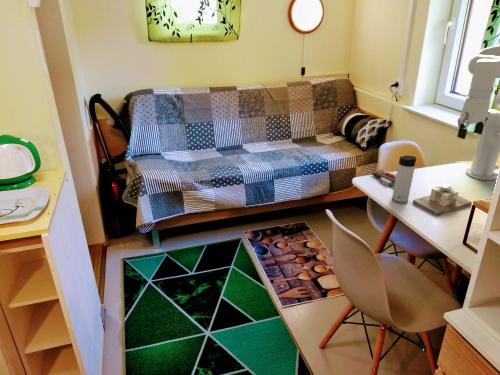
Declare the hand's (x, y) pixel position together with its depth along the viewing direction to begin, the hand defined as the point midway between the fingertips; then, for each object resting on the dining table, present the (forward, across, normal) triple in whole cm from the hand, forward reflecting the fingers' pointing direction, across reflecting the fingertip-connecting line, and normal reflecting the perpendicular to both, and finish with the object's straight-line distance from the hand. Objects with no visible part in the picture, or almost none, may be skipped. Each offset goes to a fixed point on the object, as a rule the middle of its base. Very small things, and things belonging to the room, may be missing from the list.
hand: (469, 135), depth 154 cm
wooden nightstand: (+25, +13, +4) cm, 28 cm away
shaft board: (+26, +13, +4) cm, 30 cm away
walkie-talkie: (+27, +16, -21) cm, 38 cm away
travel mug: (+26, +26, -6) cm, 37 cm away
